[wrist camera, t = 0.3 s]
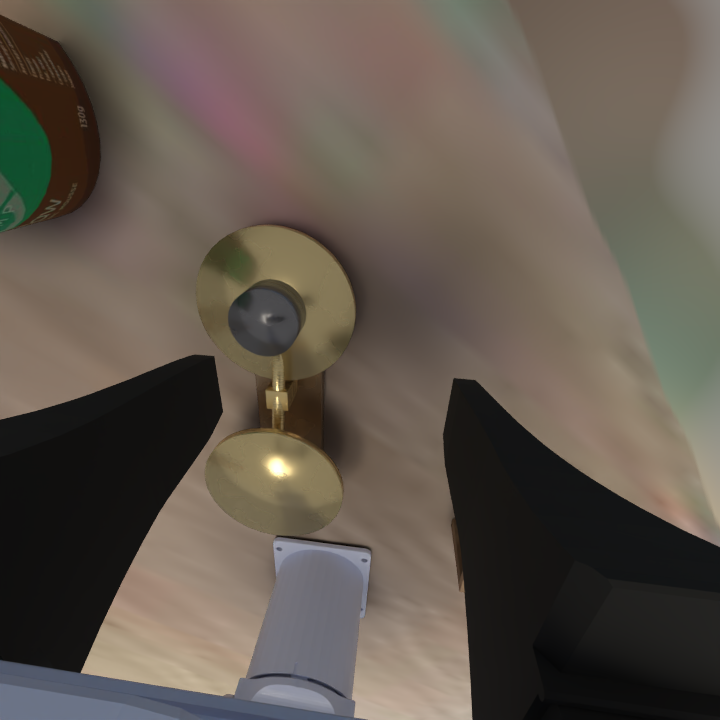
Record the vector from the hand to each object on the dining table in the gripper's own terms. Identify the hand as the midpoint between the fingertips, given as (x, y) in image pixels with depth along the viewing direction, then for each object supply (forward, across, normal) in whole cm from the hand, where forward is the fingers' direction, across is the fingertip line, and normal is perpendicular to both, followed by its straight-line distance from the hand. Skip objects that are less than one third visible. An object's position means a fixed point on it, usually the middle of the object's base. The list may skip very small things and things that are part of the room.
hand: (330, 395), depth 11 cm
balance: (+10, +4, +5) cm, 12 cm away
